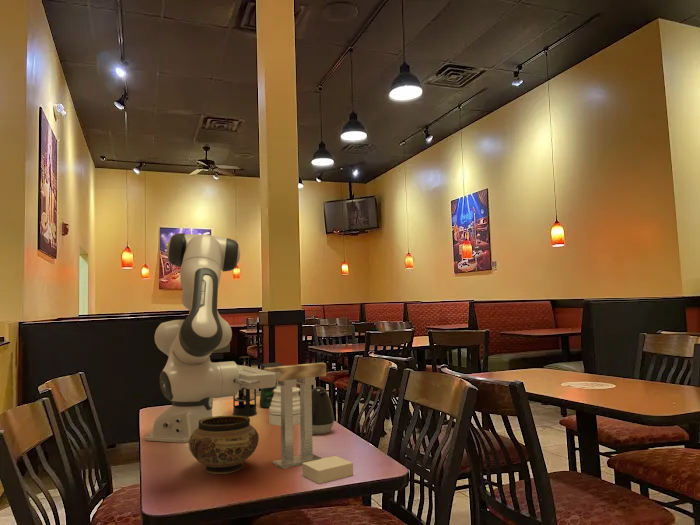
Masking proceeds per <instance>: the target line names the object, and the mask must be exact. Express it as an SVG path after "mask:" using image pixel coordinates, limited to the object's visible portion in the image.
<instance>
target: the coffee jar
mask: <svg viewBox="0 0 700 525" xmlns="http://www.w3.org/2000/svg"><path fill="white" fill-rule="evenodd" d="M279 366H283V365H282V363H280V362H267V363H261V364H260V368H259V369H261V370H264V368H268V367H279ZM276 387H277V381H276V385H275V386H274V387H271V388H261V389H260V396H259V406H260V407H261V408H265V409H269V407H270V406H271V402H272V398H273V396H274V392H273V390H274V389H276Z"/></svg>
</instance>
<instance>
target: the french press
mask: <svg viewBox="0 0 700 525" xmlns="http://www.w3.org/2000/svg"><path fill="white" fill-rule="evenodd" d="M250 358H251V357H250V356H247V355H246V356H245V355H243V356H239V359H243V366H246V361H247V360H246V359H250ZM253 390H254V392H253V394H254V396H251V389H246V388H242V389H241V390H238V397H236V395H235V396H232V397H233V405H232V406H233V408H232V410H233V413H232V415H239V416H247V417H249V418H250V417H254V416H256V415H257V389H253ZM252 401H254V404H253V403H251V402H252ZM236 402H238V404H237V405H236Z"/></svg>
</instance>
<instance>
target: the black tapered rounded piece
mask: <svg viewBox="0 0 700 525" xmlns="http://www.w3.org/2000/svg"><path fill="white" fill-rule="evenodd" d="M311 390H312V435H326V434H328V433H329V432H330V431H331V430H332V428H333V425H334V422H335V415H334V409H333V406H332V402H331V401H332V400H331V398H330V396H329V394H328V392H327V391H326V389H325V388H324V387H321V386H316V387H314V388H312V389H311Z"/></svg>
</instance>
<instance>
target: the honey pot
mask: <svg viewBox="0 0 700 525" xmlns="http://www.w3.org/2000/svg"><path fill="white" fill-rule="evenodd" d="M292 389H293V426H294V425H300V387H297V386H296V387H292ZM273 392H274V396H273V398H272V402H271V406H270V407H269V408H268V413H269V414H268V423H269V425H271V426H272V425H273V426H280V427H281V387H279V386H277V387H276V389H274V390H273Z"/></svg>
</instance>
